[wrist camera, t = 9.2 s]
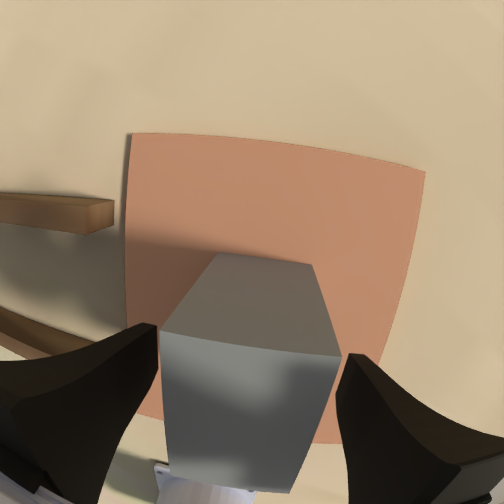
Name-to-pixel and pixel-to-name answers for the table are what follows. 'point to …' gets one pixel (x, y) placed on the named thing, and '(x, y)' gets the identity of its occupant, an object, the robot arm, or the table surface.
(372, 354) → the mat
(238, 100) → the table surface
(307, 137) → the table surface
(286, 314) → the blank block
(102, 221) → the frame
